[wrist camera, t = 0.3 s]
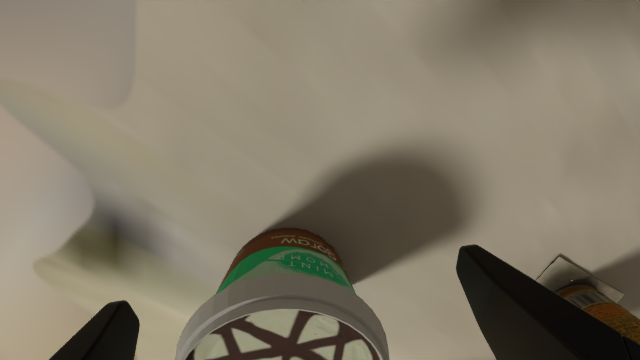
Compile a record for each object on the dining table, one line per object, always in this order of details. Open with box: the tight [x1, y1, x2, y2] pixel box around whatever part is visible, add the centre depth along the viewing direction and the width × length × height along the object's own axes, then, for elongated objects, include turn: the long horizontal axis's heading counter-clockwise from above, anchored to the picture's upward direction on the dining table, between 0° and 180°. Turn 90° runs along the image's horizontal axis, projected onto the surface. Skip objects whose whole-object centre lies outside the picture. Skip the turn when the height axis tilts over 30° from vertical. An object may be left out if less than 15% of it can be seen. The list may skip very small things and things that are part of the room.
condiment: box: [536, 257, 640, 344], centre depth 24 cm, size 7×8×12 cm
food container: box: [175, 228, 389, 360], centre depth 21 cm, size 12×6×10 cm, turn 80°
